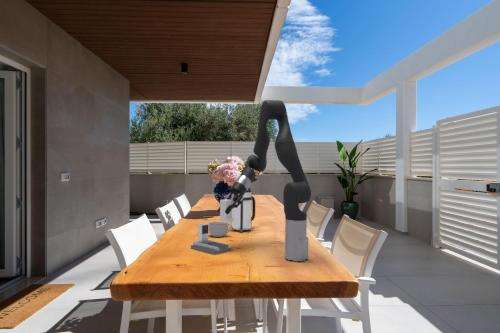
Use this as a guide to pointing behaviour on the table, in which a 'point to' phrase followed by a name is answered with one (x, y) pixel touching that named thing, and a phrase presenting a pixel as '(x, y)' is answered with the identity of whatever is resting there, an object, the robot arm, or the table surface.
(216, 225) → the teacup
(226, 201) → the white stepped block
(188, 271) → the table surface
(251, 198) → the coffee press
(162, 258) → the table surface
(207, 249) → the rail
